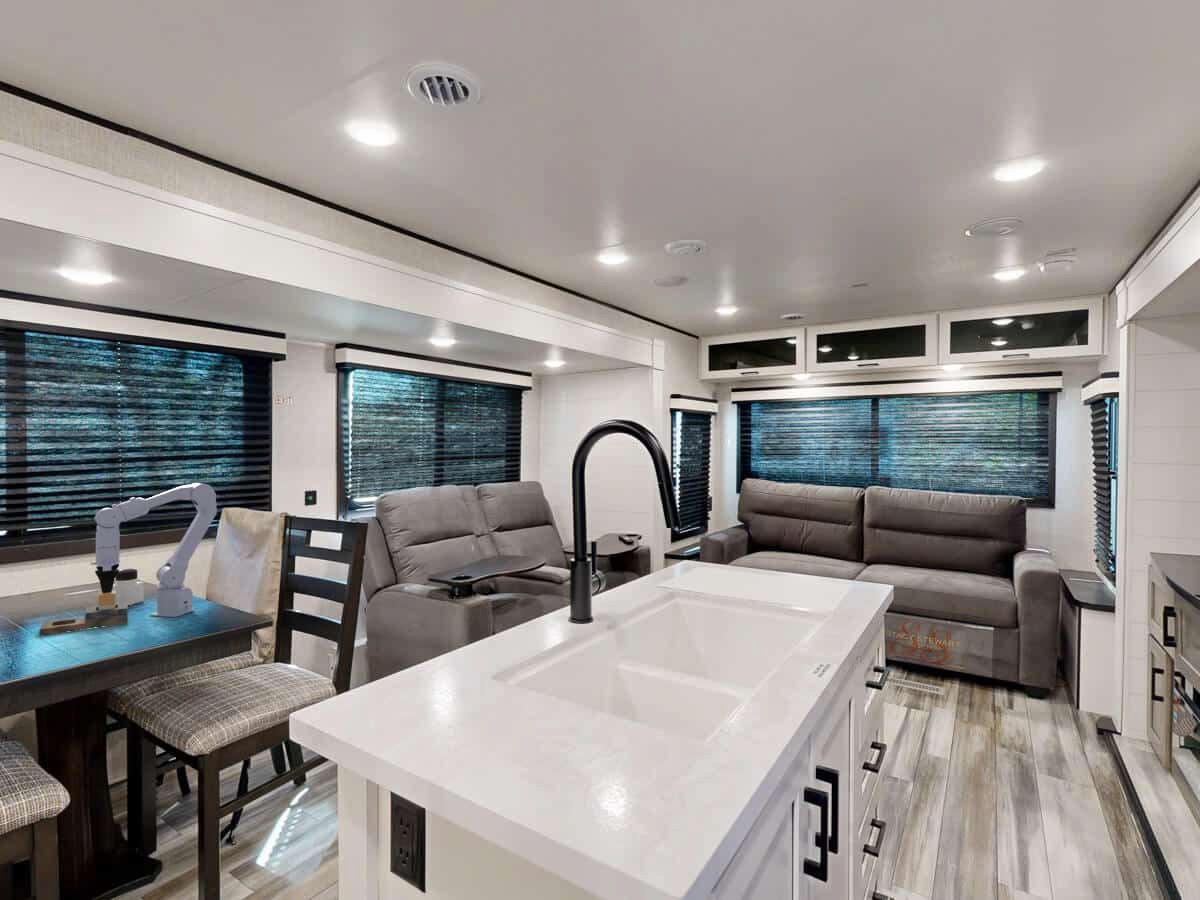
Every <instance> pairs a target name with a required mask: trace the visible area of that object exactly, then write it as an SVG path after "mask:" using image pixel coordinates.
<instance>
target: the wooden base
mask: <svg viewBox="0 0 1200 900" xmlns="http://www.w3.org/2000/svg"><path fill="white" fill-rule="evenodd" d="M128 607H129V606H128V605H127V602H123V603H115V608H114V609H106V610H99V604H98V605H90V606H86V609H85V615H84V616H79V617H78V616H77V617H70V618H62V619H54V620H46V621H42V623H41V625H40V628H39V636H40V637H42V636H41V635H44V636H50V635H49V634H52V635H57V634H56V633H59V634H63V633H62V632H66V633H68V632H67V631H74V632H76V631H75V630H80V629H87V628H94V627H102V626H110V627H112V626H111V625H118V626H121V625H120V624H125V625H128V618H129V617H128V616H129V614H128V612H129V611H128V610H129V609H128Z"/></svg>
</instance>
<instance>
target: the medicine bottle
mask: <svg viewBox="0 0 1200 900" xmlns="http://www.w3.org/2000/svg"><path fill="white" fill-rule="evenodd" d="M114 582H115V583H114V584H113V588H112V591H116V594H115V603H123V602H127V605H131V604H134V603H137V604H139V603H138V602H141V601H143V602H144V599H145V597H144V596H145V591H144V590H145V583H144V581H138V570H137V569H135V568H123V569H119V571H118V573H117V575H116V577H115V580H114ZM141 603H142V602H141ZM134 605H135V604H134ZM131 606H132V605H131Z"/></svg>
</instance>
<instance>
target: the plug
mask: <svg viewBox="0 0 1200 900" xmlns="http://www.w3.org/2000/svg"><path fill="white" fill-rule="evenodd" d="M115 594H116V591H112V592H110V593H102V591H101V592H98V605H99V610H106V609H114V608H115Z"/></svg>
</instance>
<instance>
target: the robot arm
mask: <svg viewBox="0 0 1200 900" xmlns="http://www.w3.org/2000/svg"><path fill="white" fill-rule="evenodd" d="M216 499H217V494H216V492H215V490H214V488H213V487H212V485H210V484H208V483H201V482H192V483H190V484H185V485H180V486H177V487H175V488H172V489H169V490H167V491H164V492H162V493H159V494H155V495H153V496H152V497H149V498H142V497H134V496H133V497H130V498H129V500H127V501H124V502H122V503H118V504H116V503H114V504H111V507H104V508H101V509H100V510H98V511H97V512H96V514H95V516H94V517H93V518H94V521H95V522H96V532H95V561H90V565H91V566H92V565H96V570H95V571H94V573H95V575H96V576H97V578H98V581H99V584H100V589H101V592H102V593H110V592H112V588H113V584H115V583H114V582H115V577H116V575H117V573H118V571H119V570H120V569H118V568H119V567H120V563H121V559H120V544H121V543H120V536H121V535H120V532H121V531H120V524H121V523H122V522H127V521H130V520H132V519H136V518H138V517H141V516H144V515H146V514H148V513H149V511H150V510H151V509H152V508H155V507H158V506H161V505H165V504H167V503H170V502H173V501H177V500H183V501H184V500H185V501H186V500H187V501H191V502H192V503H193V505H194V506H195V509H196V511H197V513H196V515H195V517H194V518H193V520H192V522H191V524H190V526H189V527H188V529H187V531H186V533H185V534H184V535H183V537H182V539H181V541H180V542H179V544H178V546H177V547H176V549H175V551H174V552H173V554H172V555H171V556H170V557H169V558H168V559H167V560H166V563H164V565H162V566H161V567H160V568H158V570H157V572H156V579H157V580H158V581H159V583H158V585H157V588H156V611H155V612H152V613H150V614H149V616H150V617H151V616H153V617H165V618H166V617H168V618H169V617H170V618H171V617H172V618H177V617H179V616H182V615H185V613H186V614H188V613H190V612H191V613H192V612H194V611H195V609H194V608H193V597H194V596H193V591H192V589H191V588H190V587H186V586H185V583H184V582H185V579H186V572H187V570H188V568H189V562H190V560H191V558H192V557H193V555H194V553H195V551H196V550H197V548H198V546H199V544H200V542H201V541H202V540H203V538H204V536H205V534H206V533H207V531H208V529H209V527H210V526H211V524H212V522H213V520H214V518H215V517H216V515H217V512H218V509H217V500H216Z"/></svg>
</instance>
